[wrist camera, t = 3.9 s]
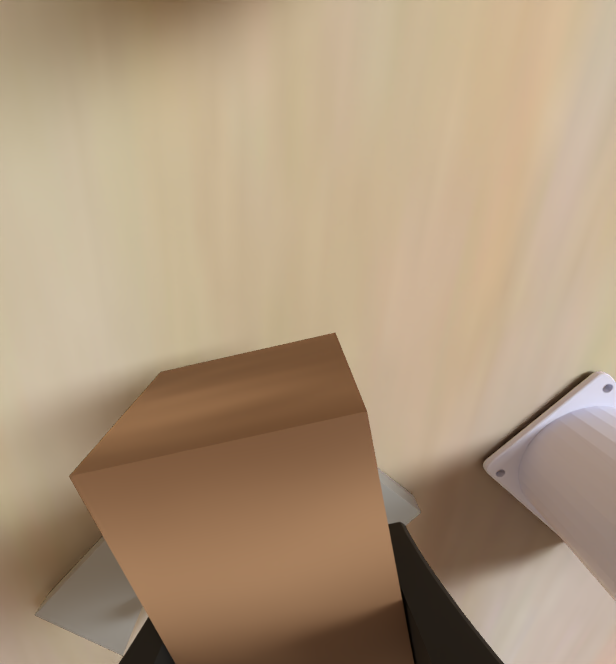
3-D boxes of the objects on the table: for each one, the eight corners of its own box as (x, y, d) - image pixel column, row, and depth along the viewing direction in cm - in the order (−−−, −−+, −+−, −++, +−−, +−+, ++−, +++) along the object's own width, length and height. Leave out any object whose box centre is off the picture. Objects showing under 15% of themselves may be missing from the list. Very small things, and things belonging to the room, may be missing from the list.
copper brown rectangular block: (393, 615, 13) (435, 779, 9) (269, 640, 13) (260, 812, 9) (335, 332, 9) (367, 411, 5) (160, 372, 9) (69, 476, 5)
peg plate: (413, 495, 19) (445, 566, 15) (205, 668, 23) (187, 760, 19) (255, 372, 16) (243, 419, 13) (48, 593, 20) (-11, 682, 16)
